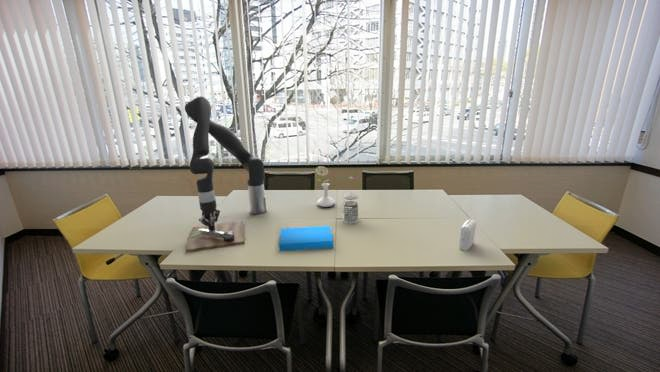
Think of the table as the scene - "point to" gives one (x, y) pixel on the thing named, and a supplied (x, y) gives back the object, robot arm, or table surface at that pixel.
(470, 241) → the photo printer
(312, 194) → the table surface
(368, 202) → the table surface
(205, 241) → the dial plate
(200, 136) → the robot arm
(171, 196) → the table surface
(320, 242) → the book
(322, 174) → the flower in vase
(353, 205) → the french press
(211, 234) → the tuning lever
